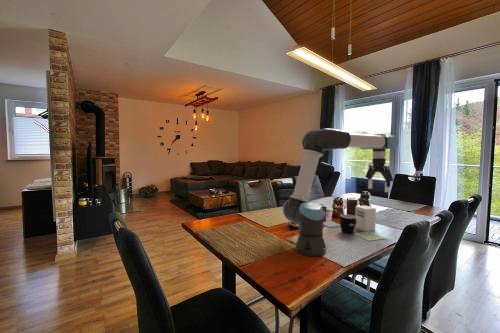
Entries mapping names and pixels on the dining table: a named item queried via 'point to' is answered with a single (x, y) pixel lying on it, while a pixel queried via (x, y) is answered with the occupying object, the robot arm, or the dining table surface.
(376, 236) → the sage coaster
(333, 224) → the slate coaster
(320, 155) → the robot arm
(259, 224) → the dining table surface
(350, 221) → the mug
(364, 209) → the wall box
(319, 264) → the dining table surface
